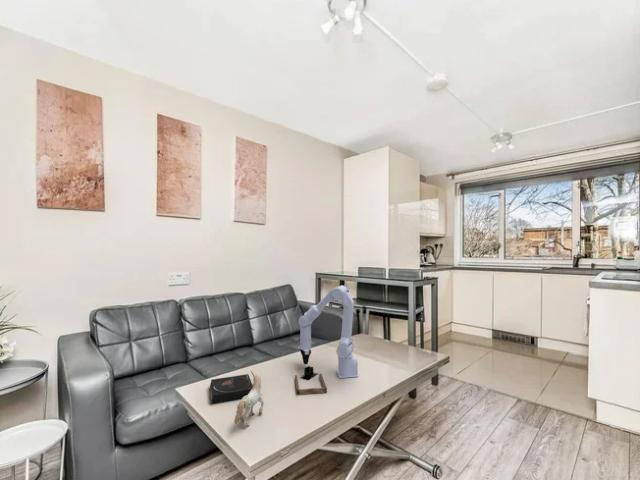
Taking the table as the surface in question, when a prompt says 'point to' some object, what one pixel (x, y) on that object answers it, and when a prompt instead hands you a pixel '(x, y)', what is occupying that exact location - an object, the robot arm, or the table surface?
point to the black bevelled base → (308, 373)
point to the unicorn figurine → (250, 402)
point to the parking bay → (311, 390)
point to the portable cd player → (230, 388)
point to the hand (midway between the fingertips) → (305, 364)
